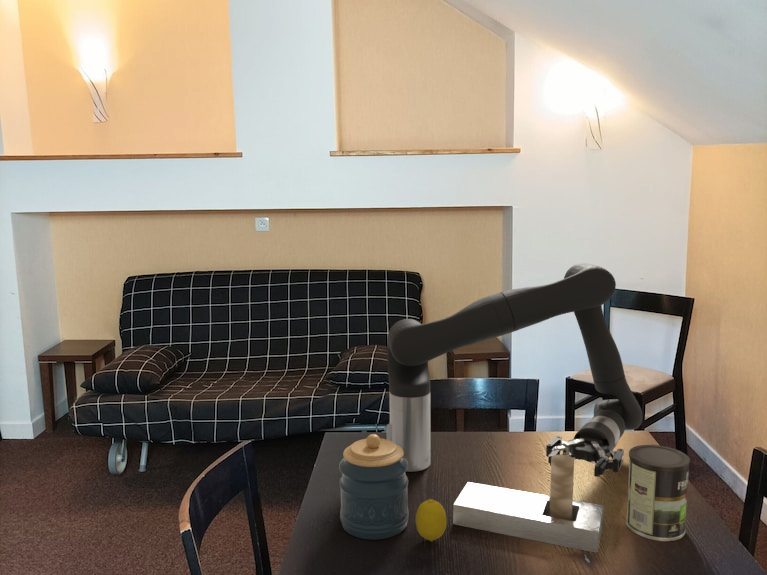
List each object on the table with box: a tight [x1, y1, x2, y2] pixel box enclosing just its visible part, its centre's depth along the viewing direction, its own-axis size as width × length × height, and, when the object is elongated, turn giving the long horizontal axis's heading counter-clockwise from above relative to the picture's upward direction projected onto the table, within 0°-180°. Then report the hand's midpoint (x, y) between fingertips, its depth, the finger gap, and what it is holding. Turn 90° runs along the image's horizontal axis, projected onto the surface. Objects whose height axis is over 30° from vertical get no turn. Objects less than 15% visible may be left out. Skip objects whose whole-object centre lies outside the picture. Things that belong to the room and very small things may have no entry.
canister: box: [338, 433, 410, 541], centre depth 123 cm, size 13×13×18 cm
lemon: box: [415, 498, 448, 542], centre depth 117 cm, size 6×6×8 cm
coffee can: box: [625, 444, 691, 542], centre depth 120 cm, size 10×10×14 cm
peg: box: [549, 454, 575, 521], centre depth 119 cm, size 4×4×14 cm
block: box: [452, 481, 605, 554], centre depth 122 cm, size 26×10×4 cm, turn 67°
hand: (573, 466), depth 124 cm, fingers open, 8 cm apart
